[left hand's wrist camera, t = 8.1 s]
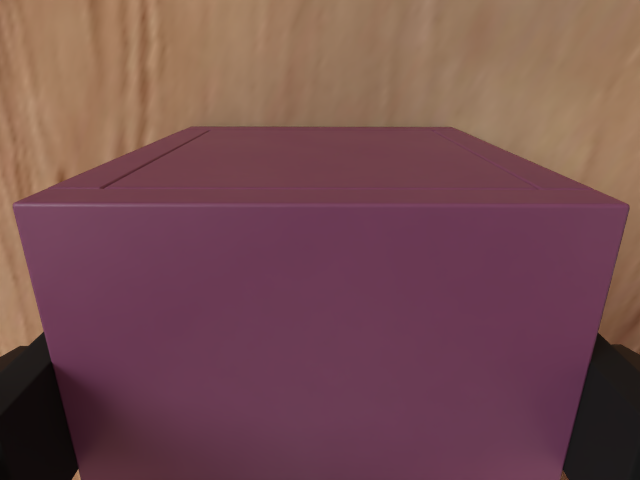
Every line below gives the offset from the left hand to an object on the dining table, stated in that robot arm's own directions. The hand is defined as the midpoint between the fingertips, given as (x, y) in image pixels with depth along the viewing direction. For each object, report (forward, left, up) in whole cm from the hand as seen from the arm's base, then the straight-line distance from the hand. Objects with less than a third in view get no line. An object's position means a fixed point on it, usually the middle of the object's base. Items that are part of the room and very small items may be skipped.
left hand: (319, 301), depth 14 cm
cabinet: (0, +4, -6) cm, 7 cm away
